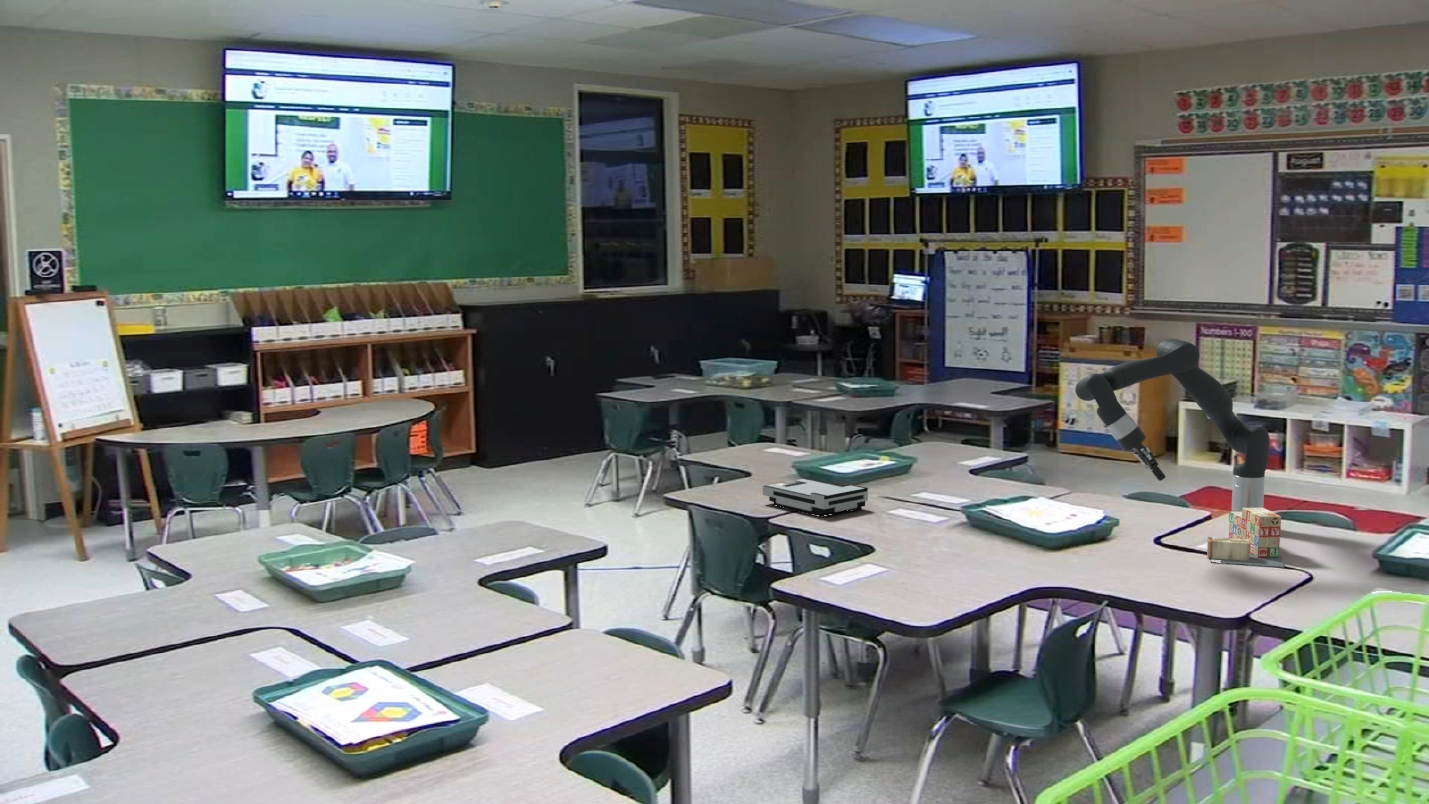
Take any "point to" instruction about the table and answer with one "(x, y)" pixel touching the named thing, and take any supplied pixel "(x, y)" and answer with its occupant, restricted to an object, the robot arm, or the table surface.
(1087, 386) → the robot arm
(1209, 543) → the maple block
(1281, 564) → the mat
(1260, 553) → the stack of blocks
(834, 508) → the gray game console
